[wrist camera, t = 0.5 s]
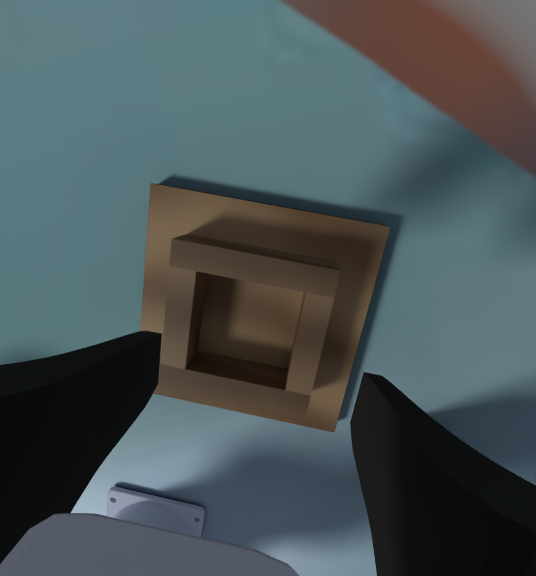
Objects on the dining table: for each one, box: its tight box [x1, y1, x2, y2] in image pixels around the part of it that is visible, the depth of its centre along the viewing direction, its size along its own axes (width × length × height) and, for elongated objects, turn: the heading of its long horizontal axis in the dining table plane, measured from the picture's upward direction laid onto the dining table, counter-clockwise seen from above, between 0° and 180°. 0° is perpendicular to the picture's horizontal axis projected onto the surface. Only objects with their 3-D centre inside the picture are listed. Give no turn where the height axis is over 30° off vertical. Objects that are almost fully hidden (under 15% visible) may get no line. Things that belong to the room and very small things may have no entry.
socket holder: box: [140, 183, 390, 432], centre depth 20 cm, size 14×14×4 cm
